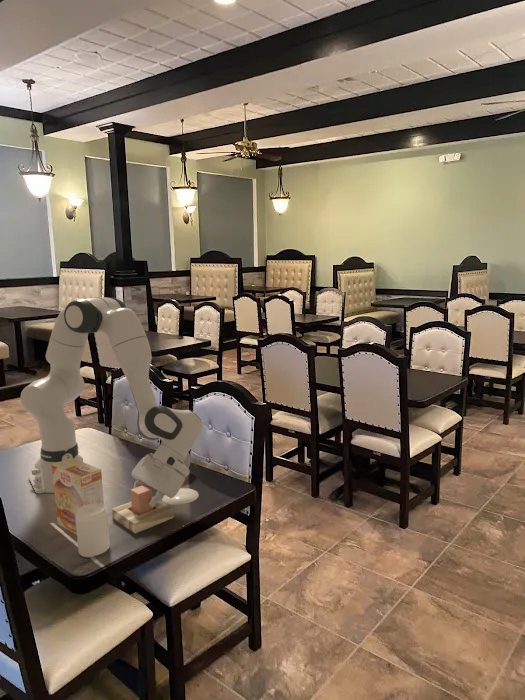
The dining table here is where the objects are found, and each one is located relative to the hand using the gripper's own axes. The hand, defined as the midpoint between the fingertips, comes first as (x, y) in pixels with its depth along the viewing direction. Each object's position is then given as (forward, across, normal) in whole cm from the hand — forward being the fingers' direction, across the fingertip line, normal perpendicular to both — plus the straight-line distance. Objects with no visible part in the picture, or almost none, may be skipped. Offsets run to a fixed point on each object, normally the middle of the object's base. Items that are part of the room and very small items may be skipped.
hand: (141, 500), depth 158 cm
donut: (-14, -21, +24) cm, 35 cm away
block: (+4, 0, +4) cm, 6 cm away
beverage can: (+17, +5, -8) cm, 20 cm away
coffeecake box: (+15, -8, -6) cm, 19 cm away
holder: (+4, 0, +5) cm, 7 cm away
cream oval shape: (-7, -4, +16) cm, 18 cm away
